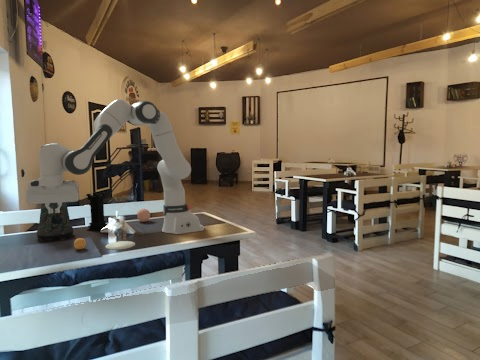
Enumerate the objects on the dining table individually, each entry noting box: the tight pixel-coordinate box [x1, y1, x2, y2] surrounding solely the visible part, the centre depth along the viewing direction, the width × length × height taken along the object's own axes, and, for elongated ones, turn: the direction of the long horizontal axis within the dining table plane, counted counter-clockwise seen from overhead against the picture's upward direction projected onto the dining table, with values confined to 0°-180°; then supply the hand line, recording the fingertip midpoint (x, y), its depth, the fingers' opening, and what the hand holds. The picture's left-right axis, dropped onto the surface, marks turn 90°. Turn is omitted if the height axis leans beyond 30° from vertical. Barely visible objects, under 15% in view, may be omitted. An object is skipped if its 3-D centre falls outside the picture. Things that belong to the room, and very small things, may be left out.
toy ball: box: [136, 208, 151, 223], centre depth 210 cm, size 8×8×8 cm
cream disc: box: [105, 240, 136, 251], centre depth 161 cm, size 13×13×1 cm
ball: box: [73, 237, 87, 250], centre depth 156 cm, size 5×5×5 cm
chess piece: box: [85, 191, 108, 232], centre depth 192 cm, size 8×8×20 cm
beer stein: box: [36, 202, 74, 243], centre depth 176 cm, size 16×19×25 cm
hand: (54, 213), depth 151 cm, fingers closed
